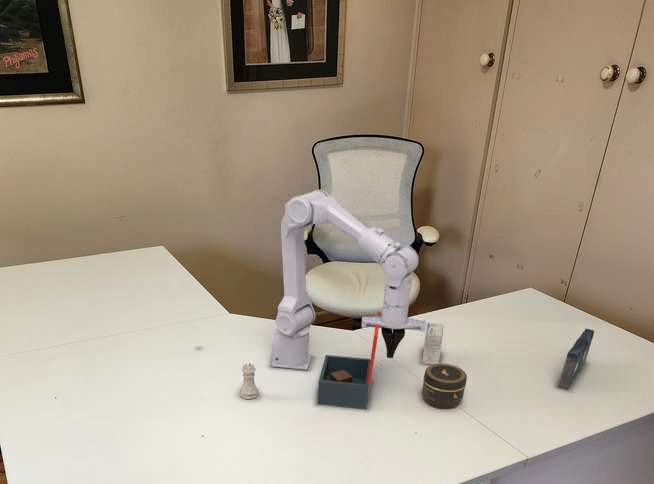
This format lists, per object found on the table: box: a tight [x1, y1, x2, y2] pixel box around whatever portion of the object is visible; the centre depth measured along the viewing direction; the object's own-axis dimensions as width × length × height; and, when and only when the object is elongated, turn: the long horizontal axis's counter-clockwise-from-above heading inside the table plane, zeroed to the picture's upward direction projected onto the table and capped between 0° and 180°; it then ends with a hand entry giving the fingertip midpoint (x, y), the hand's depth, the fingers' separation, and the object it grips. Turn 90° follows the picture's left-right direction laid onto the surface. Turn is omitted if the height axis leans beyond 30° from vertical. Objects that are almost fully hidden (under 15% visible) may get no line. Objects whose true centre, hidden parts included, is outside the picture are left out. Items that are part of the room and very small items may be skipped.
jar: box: [421, 363, 468, 410], centre depth 149 cm, size 10×10×8 cm
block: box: [330, 370, 353, 383], centre depth 151 cm, size 4×4×4 cm
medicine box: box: [421, 322, 444, 365], centre depth 167 cm, size 8×4×9 cm, turn 168°
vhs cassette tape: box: [558, 328, 595, 390], centre depth 161 cm, size 18×3×10 cm, turn 145°
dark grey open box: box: [317, 354, 371, 410], centre depth 150 cm, size 12×14×6 cm
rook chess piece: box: [239, 363, 259, 401], centre depth 147 cm, size 4×4×8 cm
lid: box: [368, 311, 381, 386], centre depth 145 cm, size 12×14×1 cm
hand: (389, 356), depth 147 cm, fingers closed
